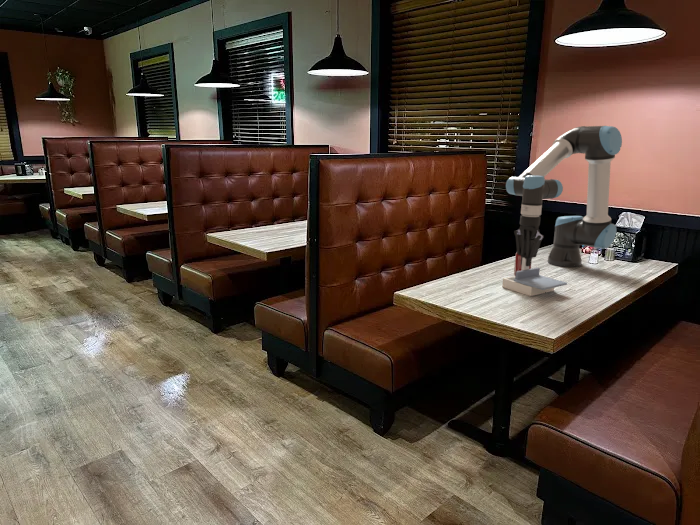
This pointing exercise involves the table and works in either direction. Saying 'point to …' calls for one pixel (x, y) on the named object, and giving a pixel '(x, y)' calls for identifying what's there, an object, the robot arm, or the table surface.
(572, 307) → the table surface
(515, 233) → the robot arm
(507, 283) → the mailer box
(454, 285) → the table surface
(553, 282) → the lid
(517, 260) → the soda can
